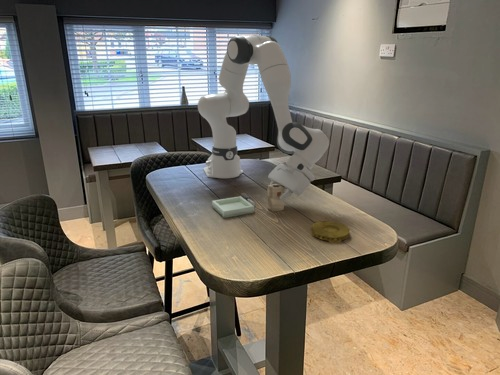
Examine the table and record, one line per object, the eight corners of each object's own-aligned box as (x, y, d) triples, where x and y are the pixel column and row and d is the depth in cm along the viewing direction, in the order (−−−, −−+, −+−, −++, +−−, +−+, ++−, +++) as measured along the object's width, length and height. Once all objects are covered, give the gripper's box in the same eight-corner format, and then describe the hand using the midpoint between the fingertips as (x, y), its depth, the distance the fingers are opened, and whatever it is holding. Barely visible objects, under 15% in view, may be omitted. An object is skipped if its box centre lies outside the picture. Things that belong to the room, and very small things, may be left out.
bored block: (267, 207, 143) (267, 184, 140) (277, 205, 145) (278, 183, 142) (273, 211, 139) (273, 188, 136) (283, 209, 141) (284, 186, 138)
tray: (212, 206, 144) (212, 200, 143) (240, 202, 149) (240, 196, 148) (224, 218, 133) (223, 211, 133) (254, 212, 138) (254, 206, 138)
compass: (336, 247, 113) (337, 240, 113) (303, 235, 121) (304, 228, 120) (356, 234, 122) (356, 228, 121) (324, 224, 129) (324, 218, 129)
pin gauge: (240, 198, 154) (240, 193, 153) (244, 197, 154) (244, 193, 154) (252, 206, 144) (252, 202, 144) (256, 206, 145) (256, 201, 144)
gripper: (278, 156, 148) (256, 183, 147) (308, 168, 131) (283, 199, 130) (288, 166, 152) (266, 192, 151) (317, 179, 134) (293, 209, 133)
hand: (274, 195), depth 140 cm, fingers open, 7 cm apart
